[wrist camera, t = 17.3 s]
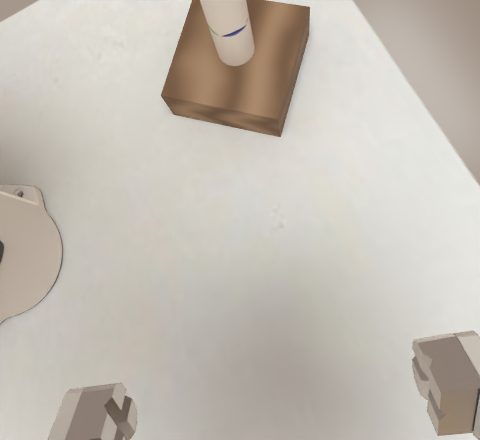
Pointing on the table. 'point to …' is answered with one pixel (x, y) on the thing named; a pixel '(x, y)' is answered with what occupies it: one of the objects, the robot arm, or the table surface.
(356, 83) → the table surface
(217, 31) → the tube
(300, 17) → the walnut stand
